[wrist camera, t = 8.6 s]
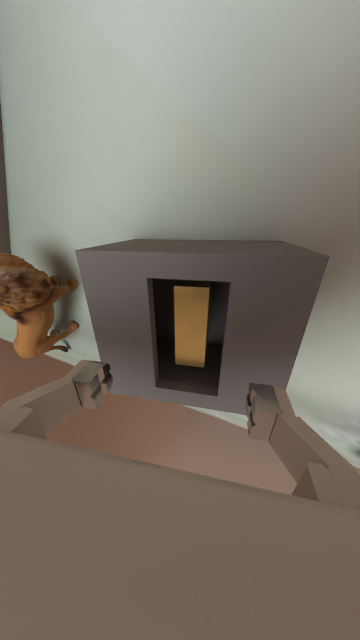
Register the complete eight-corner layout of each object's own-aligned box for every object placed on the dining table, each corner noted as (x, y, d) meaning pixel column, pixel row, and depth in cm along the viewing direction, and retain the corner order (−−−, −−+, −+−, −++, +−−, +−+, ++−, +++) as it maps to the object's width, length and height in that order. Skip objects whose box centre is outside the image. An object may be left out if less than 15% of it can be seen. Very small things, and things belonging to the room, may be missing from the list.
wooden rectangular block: (187, 268, 19) (174, 286, 14) (213, 269, 19) (209, 287, 13) (186, 330, 22) (175, 364, 17) (208, 332, 22) (204, 367, 17)
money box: (133, 239, 20) (75, 250, 12) (281, 241, 17) (329, 256, 9) (144, 339, 25) (108, 392, 17) (257, 351, 23) (275, 419, 15)
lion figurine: (34, 241, 22) (-70, 252, 14) (76, 249, 22) (-8, 265, 14) (54, 345, 29) (-8, 391, 21) (87, 354, 29) (35, 404, 21)
